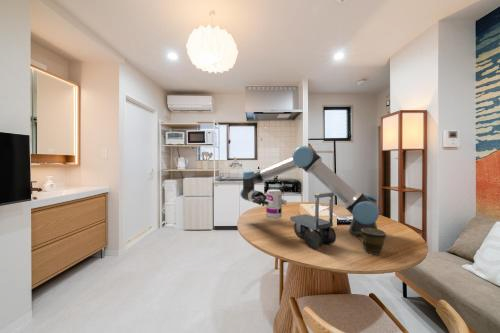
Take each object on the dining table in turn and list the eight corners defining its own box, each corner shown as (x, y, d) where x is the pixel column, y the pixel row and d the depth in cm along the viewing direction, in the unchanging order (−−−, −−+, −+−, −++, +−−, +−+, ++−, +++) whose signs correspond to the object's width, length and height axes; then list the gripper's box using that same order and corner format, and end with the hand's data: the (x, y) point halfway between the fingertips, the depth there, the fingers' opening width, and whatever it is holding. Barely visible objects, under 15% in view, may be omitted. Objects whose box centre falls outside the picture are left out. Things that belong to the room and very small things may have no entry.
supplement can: (271, 220, 112) (271, 191, 112) (263, 216, 120) (264, 189, 119) (284, 218, 115) (284, 190, 115) (276, 214, 123) (276, 188, 123)
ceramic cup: (378, 248, 104) (379, 228, 103) (389, 258, 94) (390, 235, 93) (350, 247, 105) (351, 227, 105) (359, 256, 95) (359, 234, 95)
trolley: (287, 236, 118) (288, 188, 117) (303, 232, 124) (304, 187, 123) (318, 251, 99) (319, 195, 98) (335, 246, 105) (337, 193, 104)
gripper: (270, 201, 138) (294, 208, 119) (241, 204, 128) (262, 213, 108) (270, 189, 138) (294, 194, 119) (241, 192, 127) (263, 198, 108)
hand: (279, 203), depth 113 cm, fingers closed on supplement can, 8 cm apart
